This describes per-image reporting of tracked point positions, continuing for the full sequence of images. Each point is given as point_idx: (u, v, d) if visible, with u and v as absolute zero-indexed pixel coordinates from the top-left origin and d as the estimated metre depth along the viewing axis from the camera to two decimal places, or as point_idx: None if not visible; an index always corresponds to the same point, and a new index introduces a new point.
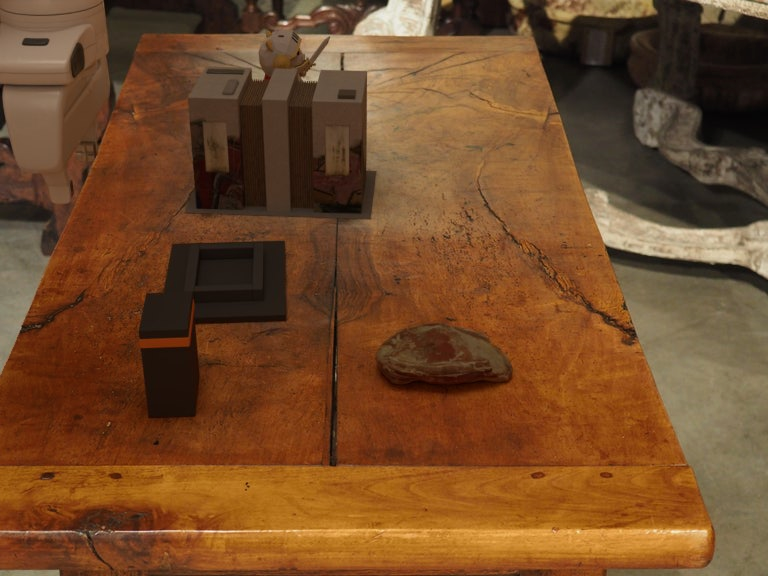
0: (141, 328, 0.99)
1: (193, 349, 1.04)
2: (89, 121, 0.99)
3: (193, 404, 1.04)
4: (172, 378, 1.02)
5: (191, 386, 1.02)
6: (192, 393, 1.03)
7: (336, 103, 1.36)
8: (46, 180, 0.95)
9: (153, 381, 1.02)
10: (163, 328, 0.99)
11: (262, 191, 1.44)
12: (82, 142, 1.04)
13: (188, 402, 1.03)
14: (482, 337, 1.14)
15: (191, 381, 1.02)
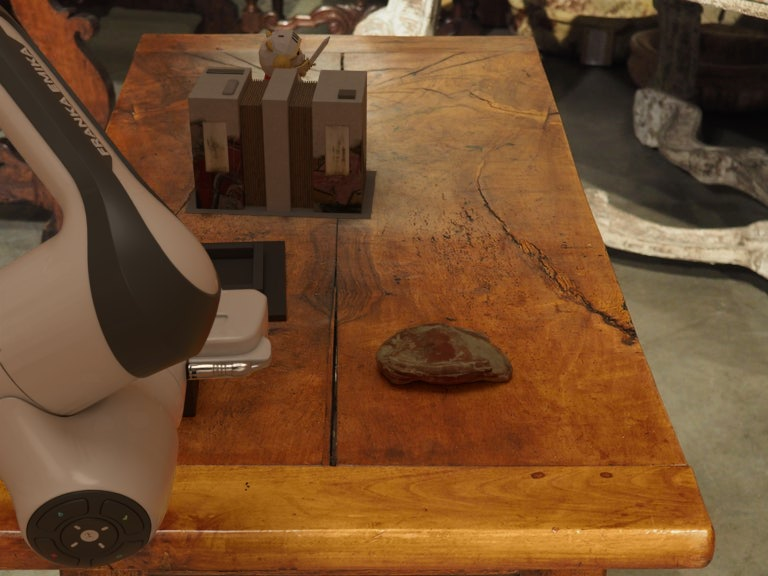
0: None
1: None
2: None
3: (193, 404, 1.04)
4: None
5: (191, 386, 1.02)
6: (192, 393, 1.03)
7: (336, 103, 1.36)
8: None
9: None
10: None
11: (262, 191, 1.44)
12: None
13: (188, 402, 1.03)
14: (482, 337, 1.14)
15: (191, 381, 1.02)
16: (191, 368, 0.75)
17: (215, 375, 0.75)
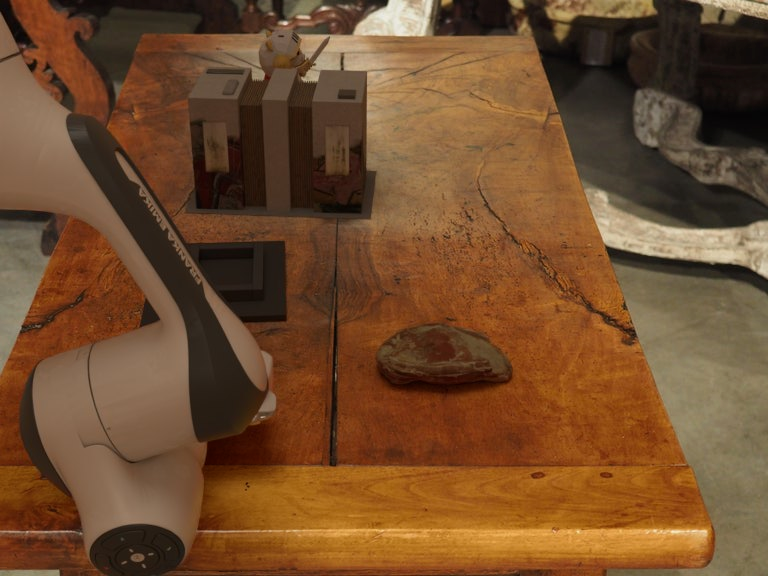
0: None
1: None
2: None
3: None
4: None
5: None
6: None
7: (336, 103, 1.36)
8: None
9: None
10: None
11: (262, 191, 1.44)
12: None
13: None
14: (482, 337, 1.14)
15: None
16: None
17: None
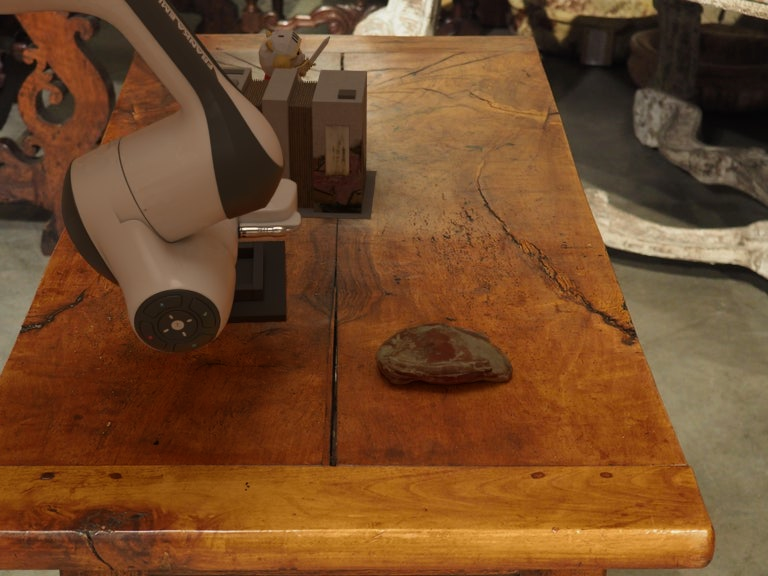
0: None
1: None
2: None
3: None
4: None
5: None
6: None
7: (336, 103, 1.36)
8: None
9: None
10: None
11: None
12: None
13: None
14: (482, 337, 1.14)
15: None
16: (242, 229, 1.01)
17: (259, 235, 1.01)
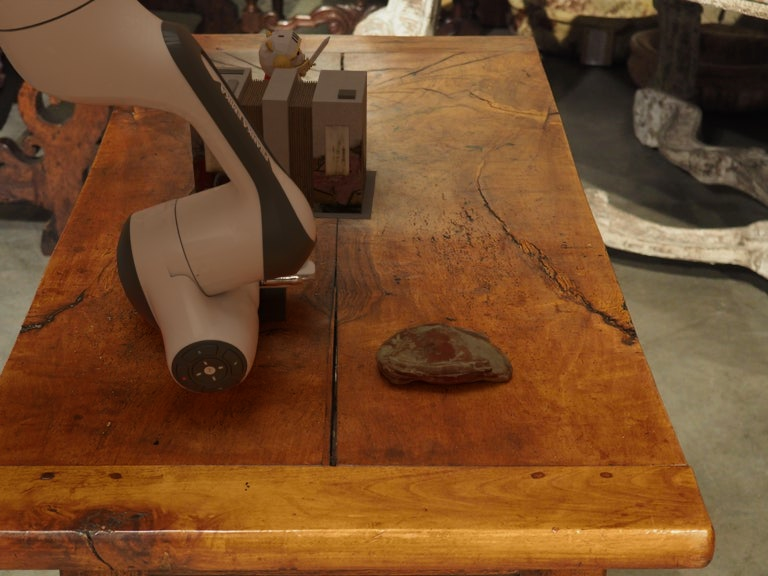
0: None
1: None
2: None
3: None
4: None
5: None
6: None
7: (336, 103, 1.36)
8: None
9: None
10: None
11: None
12: None
13: None
14: (482, 337, 1.14)
15: None
16: None
17: (278, 283, 1.13)
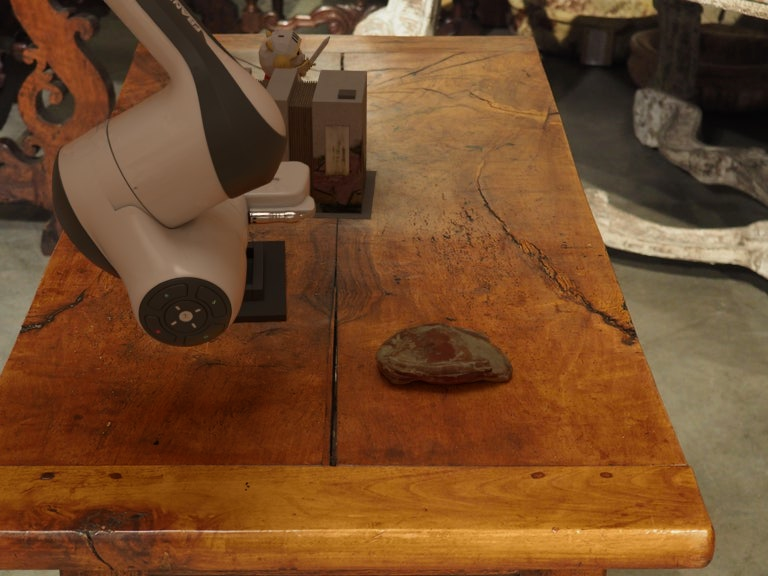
0: None
1: None
2: None
3: None
4: None
5: None
6: None
7: (336, 103, 1.36)
8: None
9: None
10: None
11: None
12: None
13: None
14: (482, 337, 1.14)
15: None
16: (252, 215, 0.94)
17: (271, 221, 0.95)
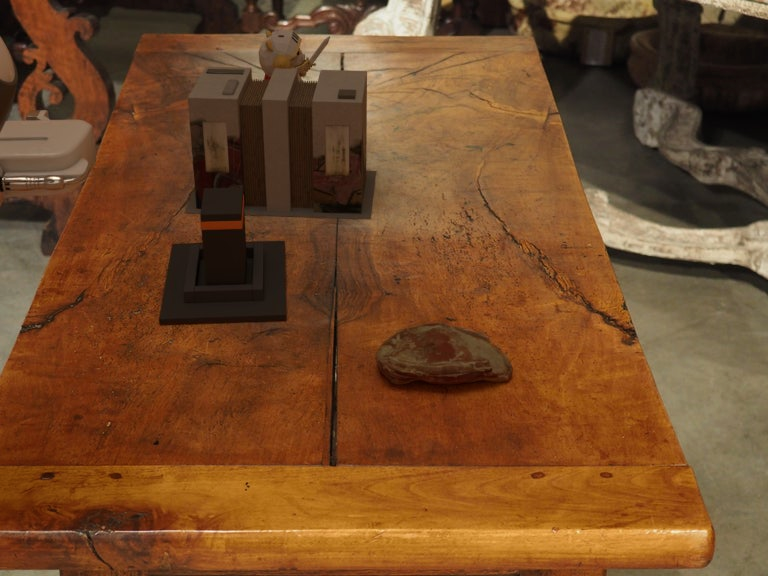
0: (202, 212, 1.19)
1: None
2: None
3: (244, 280, 1.23)
4: (227, 257, 1.21)
5: (242, 264, 1.22)
6: (243, 271, 1.22)
7: (336, 103, 1.36)
8: None
9: (211, 259, 1.21)
10: (221, 212, 1.19)
11: (262, 191, 1.44)
12: None
13: (240, 278, 1.23)
14: (482, 337, 1.14)
15: (243, 260, 1.22)
16: (4, 180, 0.78)
17: (28, 187, 0.79)
